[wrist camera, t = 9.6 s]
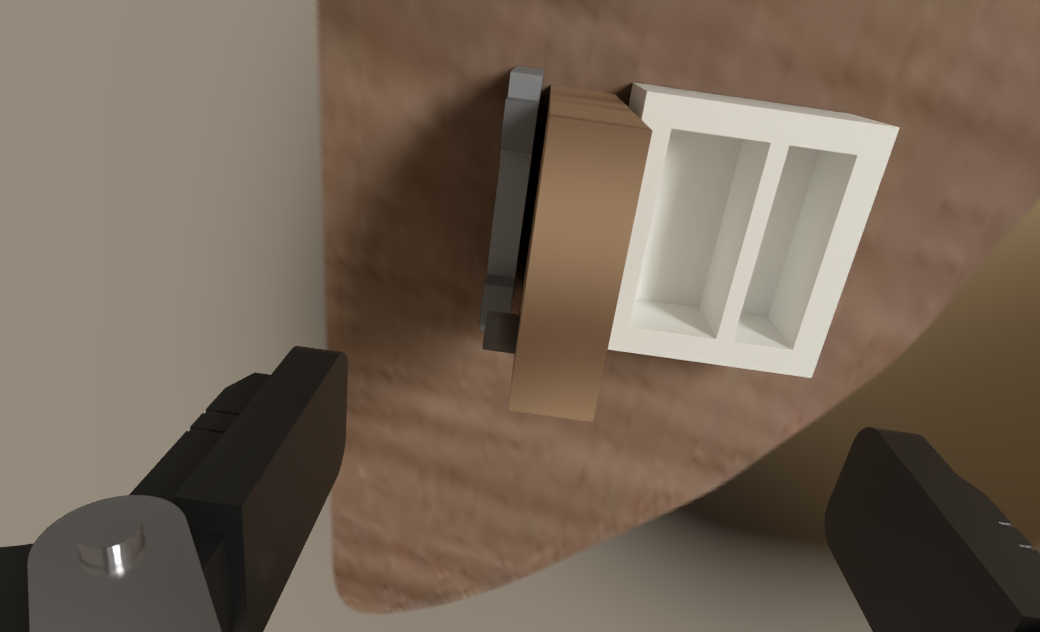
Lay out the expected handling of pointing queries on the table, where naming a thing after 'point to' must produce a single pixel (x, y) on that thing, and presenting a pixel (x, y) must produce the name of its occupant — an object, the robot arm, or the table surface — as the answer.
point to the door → (573, 254)
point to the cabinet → (718, 223)
